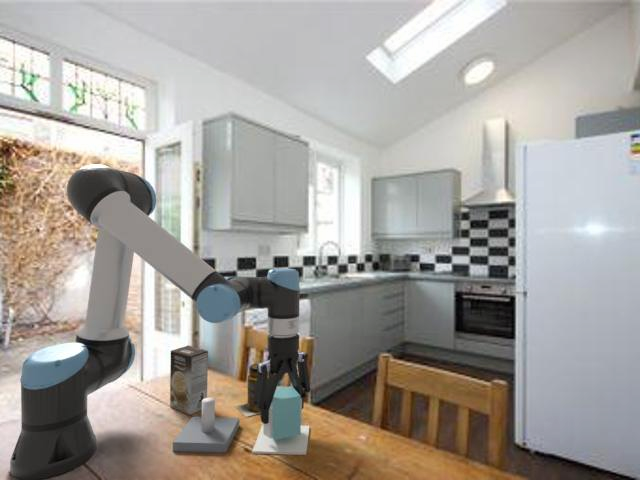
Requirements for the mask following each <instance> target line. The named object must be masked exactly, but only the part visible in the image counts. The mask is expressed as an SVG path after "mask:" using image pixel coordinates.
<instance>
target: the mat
mask: <svg viewBox="0 0 640 480" xmlns="http://www.w3.org/2000/svg"><path fill="white" fill-rule="evenodd" d="M310 427H311V425H303V424H302V425H301V435H296V436H291V437H287V438H282V439H277V440H274V439H273V438H271V439H270V438H268V437H267V436H265V435H264V434H263V424H262V425H261V428H260V430H259V433H258V435H257V437H256V438H257V439H256V441H255V442H254V446H253V448H252V450H251V454H256V455H257V454H260V455H262V454H264V455H265V454H266V455H291V456H292V455H299V456H307V449H308V444H309V442H308V441H309V435H310V434H309V433H310Z"/></svg>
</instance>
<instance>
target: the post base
mask: <svg viewBox="0 0 640 480" xmlns="http://www.w3.org/2000/svg"><path fill="white" fill-rule="evenodd" d="M215 404H216V399H215V397H207V398H205V399H203V400H202V409H201V416H192V417H191V419H189V421H188V423H187V424H186V425H185V426H184V427H183V429H182V430H181V431H180V432H179V434H178V435H177V436H176V437H175V439H174V440H173V441H172V452H194V453H195V452H196V453H197V452H198V453H223V454H225V453H227V450H228V449H229V447H230V446H231V442H232V441H233V439H234V437H235V435H236V433H237V431H238V429H239V427H240V417H219V416H217V417H216V416H215V415H216V413H215V412H216V411H215V409H216V407H215V406H216V405H215Z"/></svg>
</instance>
